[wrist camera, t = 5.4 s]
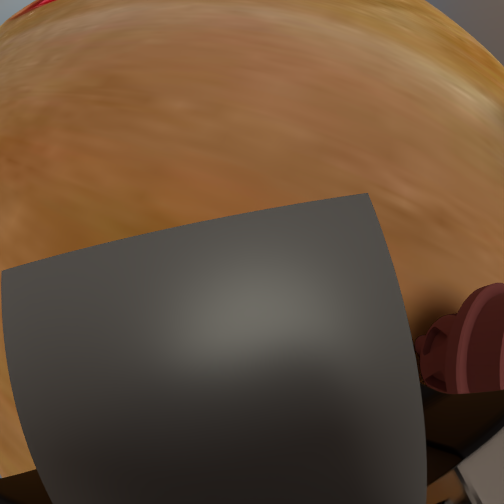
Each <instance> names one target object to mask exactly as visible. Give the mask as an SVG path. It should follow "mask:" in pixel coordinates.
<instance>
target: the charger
mask: <svg viewBox="0 0 504 504" xmlns="http://www.w3.org/2000/svg"><path fill="white" fill-rule="evenodd" d="M1 294H2V319H3V332H4V342H5V350H6V358H7V364H8V371H9V376H10V381H11V386H12V391H13V396H14V400H15V404H16V408H17V412H18V416H19V419H20V423H21V426H22V430H23V433H24V436H25V439H26V442H27V445H28V448H29V450H30V453H31V456H32V459H33V461H34V464H35V466H36V469H37V471H38V473H39V476H40V478H41V480H42V483H43V485H44V487H45V489H46V491H47V493H48V495H49V497H50V499H51V501H52V503H53V504H426V496H427V457H426V437H425V424H424V413H423V404H422V396H421V388H420V381H419V375H418V369H417V363H416V357H415V352H414V347H413V342H412V337H411V332H410V328H409V323H408V319H407V315H406V310H405V306H404V302H403V298H402V295H401V291H400V287H399V284H398V280H397V277H396V273H395V270H394V266H393V263H392V260H391V257H390V254H389V250H388V247H387V244H386V241H385V238H384V235H383V232H382V230H381V227H380V224H379V221H378V218H377V216H376V213H375V210H374V208H373V205H372V202H371V200H370V197H369V195H368V193H364V194H357V195H350V196H344V197H337V198H331V199H324V200H318V201H312V202H306V203H300V204H294V205H288V206H282V207H276V208H271V209H265V210H260V211H254V212H249V213H243V214H238V215H233V216H228V217H223V218H217V219H212V220H207V221H203V222H198V223H193V224H188V225H183V226H179V227H174V228H169V229H165V230H160V231H155V232H151V233H147V234H142V235H138V236H133V237H129V238H125V239H121V240H116V241H112V242H108V243H104V244H100V245H96V246H92V247H88V248H84V249H80V250H76V251H72V252H68V253H64V254H61V255H57V256H53V257H49V258H46V259H42V260H38V261H35V262H31V263H28V264H24V265H21V266H17V267H14V268H10V269H7V270H3V271H2V279H1Z"/></svg>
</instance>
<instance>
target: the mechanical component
mask: <svg viewBox="0 0 504 504" xmlns="http://www.w3.org/2000/svg"><path fill="white" fill-rule="evenodd" d="M415 350H416V352H417V353H418V354H420V370H421V374H422V377H423V380H424V382H425V383H426V385H427V386H428V387H430V388H432V389H434V390H437V391H440V392H443V393H448V394H464V393H478V392H488V391H498V390H504V284H503V283H494V284H491V285H488V286H484V287H482V288H479V289H477V290H476V291H474V292H473V293H472V294H471V295H470V296H469V297H468V298H467V299H466V300H465V302H464V303H463V304H462V306H461V308H460V309H459V311H458V313H457V314H449V315H445V316H443V317H441V318H439V319H438V320H437V321H436V322H434V323H433V325H432V326H431V327H430V329H429V330H428V332H427V334H426V335H421V336H419V337H418V338H417V339H416V341H415Z"/></svg>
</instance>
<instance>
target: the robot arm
mask: <svg viewBox="0 0 504 504" xmlns="http://www.w3.org/2000/svg"><path fill="white" fill-rule="evenodd" d="M420 388H421V396H422V404H423V413H424V424H425V437H426V457H427V496H426V504H504V390H498V391H488V392H478V393H464V394H448V393H443V392H440V391H437V390H434V389H432V388H430V387H428V386H426V385H424V384H422V383H420ZM0 504H53V503H52V501H51V499H50V497H49V495H48V493H47V491H46V489H45V487H44V485H43V483H42V480H41V478H40V476H39V473H38V471H37V469H35V470H32V471H28V472H25V473H21V474H17V475H13V476H9V477H5V478H0Z"/></svg>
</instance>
